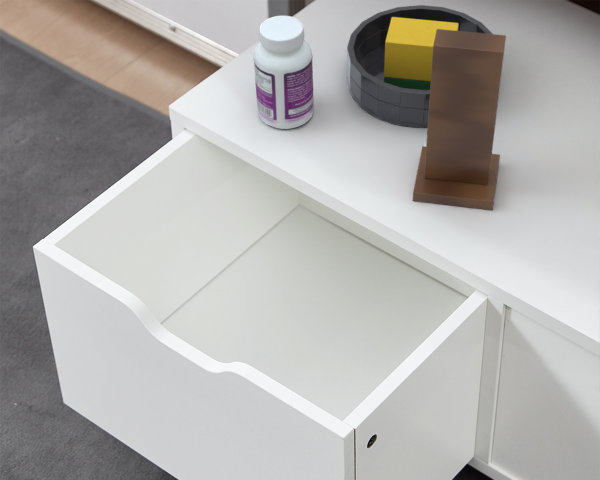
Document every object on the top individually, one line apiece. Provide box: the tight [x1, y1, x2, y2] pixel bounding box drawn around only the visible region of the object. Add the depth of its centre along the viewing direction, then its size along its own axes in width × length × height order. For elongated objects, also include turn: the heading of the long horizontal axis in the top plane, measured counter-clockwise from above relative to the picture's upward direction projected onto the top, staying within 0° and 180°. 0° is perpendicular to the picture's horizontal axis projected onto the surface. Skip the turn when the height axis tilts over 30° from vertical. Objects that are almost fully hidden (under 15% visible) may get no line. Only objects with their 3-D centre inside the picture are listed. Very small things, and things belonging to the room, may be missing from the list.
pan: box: [346, 4, 494, 129], centre depth 118 cm, size 14×14×4 cm
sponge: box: [384, 17, 459, 90], centre depth 117 cm, size 6×4×5 cm, turn 79°
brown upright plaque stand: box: [412, 29, 507, 211], centre depth 104 cm, size 7×6×15 cm
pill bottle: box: [253, 15, 315, 130], centre depth 113 cm, size 5×5×10 cm
